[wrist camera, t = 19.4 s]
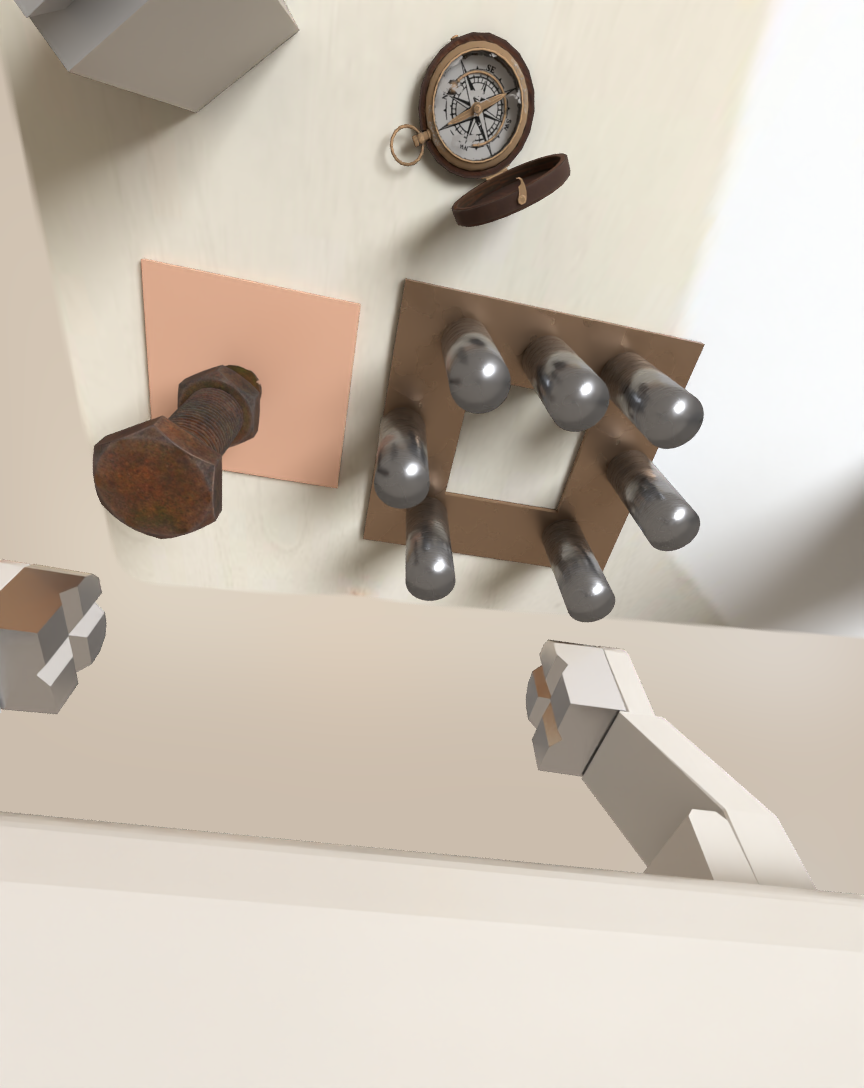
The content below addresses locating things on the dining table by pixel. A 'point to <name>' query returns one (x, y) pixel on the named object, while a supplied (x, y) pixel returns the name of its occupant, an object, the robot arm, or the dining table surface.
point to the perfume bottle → (163, 42)
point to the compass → (483, 127)
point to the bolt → (178, 455)
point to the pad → (257, 362)
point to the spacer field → (573, 403)
